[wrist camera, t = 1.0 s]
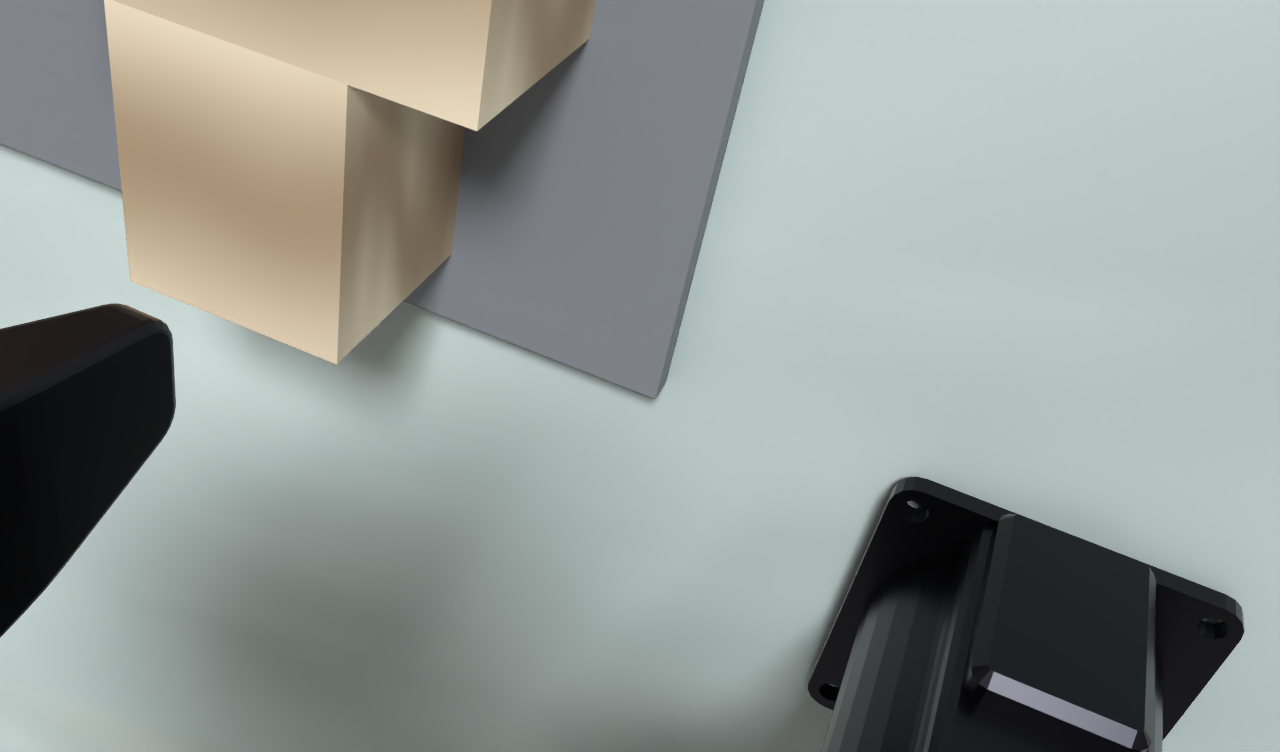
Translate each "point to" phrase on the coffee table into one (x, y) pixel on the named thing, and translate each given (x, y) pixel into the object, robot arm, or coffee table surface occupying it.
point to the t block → (310, 146)
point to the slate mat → (501, 172)
